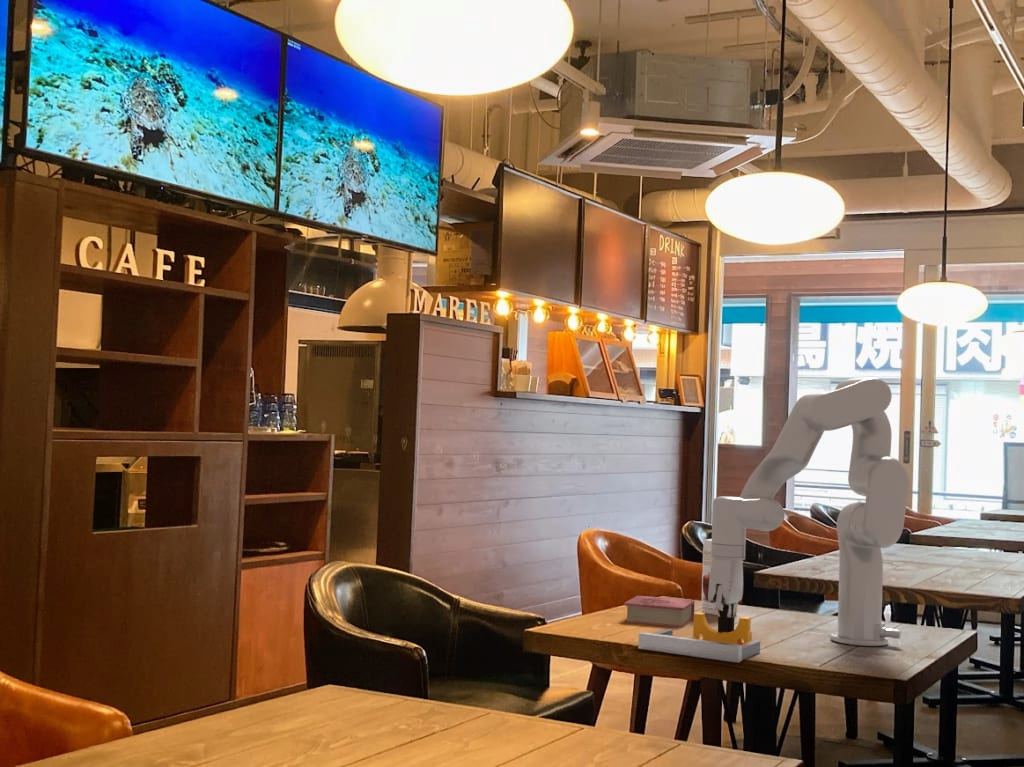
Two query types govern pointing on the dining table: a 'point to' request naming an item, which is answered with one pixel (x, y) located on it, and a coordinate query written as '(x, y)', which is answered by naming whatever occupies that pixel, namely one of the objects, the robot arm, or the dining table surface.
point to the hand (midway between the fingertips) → (725, 634)
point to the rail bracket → (697, 646)
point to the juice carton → (707, 561)
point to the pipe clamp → (724, 637)
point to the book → (660, 611)
